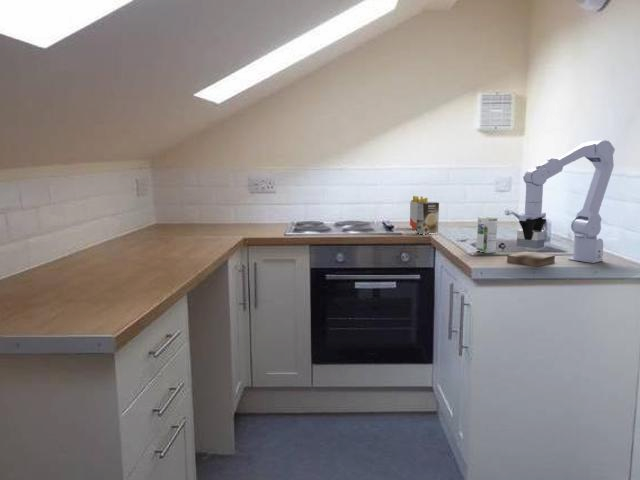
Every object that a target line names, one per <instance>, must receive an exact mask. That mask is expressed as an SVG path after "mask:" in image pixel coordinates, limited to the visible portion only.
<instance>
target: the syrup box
mask: <svg viewBox="0 0 640 480" xmlns="http://www.w3.org/2000/svg"><path fill="white" fill-rule="evenodd" d="M476 232H477V233H476V250H478V251H480V252H479V253H482V252H484V253H483V254H492V253H493V254H494V253H496V252H497V234H498V233H497V232H498V217H496V216H494V217H493V216H489V215H485V216H484V215H481V216H478V217H477V231H476Z"/></svg>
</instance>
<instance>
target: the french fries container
mask: <svg viewBox="0 0 640 480" xmlns="http://www.w3.org/2000/svg"><path fill="white" fill-rule="evenodd" d="M428 200H429V198H428V197H423V196H420V198H419V196H418V195H413V196H412V199H411V201H410V202H409V204H410V205H409V207H410V208H409V211H410V212H409V226H410V227H411V228H412V230H414V229H417V203H419V202H429V201H428Z"/></svg>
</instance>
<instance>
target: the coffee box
mask: <svg viewBox="0 0 640 480" xmlns="http://www.w3.org/2000/svg"><path fill="white" fill-rule="evenodd" d="M439 213H440V202H435V201H428V202H419V203H417V230H415V231H416V232H415V233H420V234H429V233H436V232H438V233H439V215H440V214H439ZM420 234H419V235H420Z"/></svg>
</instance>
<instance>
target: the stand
mask: <svg viewBox="0 0 640 480" xmlns="http://www.w3.org/2000/svg"><path fill="white" fill-rule="evenodd" d="M506 257H507V258H506V262H508V263H512V264H513V263H514V264H518V265H525V266H531V267H540V266H542V267H543V266H545V265H549V264H553V263H555V261H556V260H555V259H556V255H554V254H553V255H552V254H547V253H538V252H533V251H532V252H531V251H525V250H524V251H519V252H516V253H510V254H507V256H506Z"/></svg>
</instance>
